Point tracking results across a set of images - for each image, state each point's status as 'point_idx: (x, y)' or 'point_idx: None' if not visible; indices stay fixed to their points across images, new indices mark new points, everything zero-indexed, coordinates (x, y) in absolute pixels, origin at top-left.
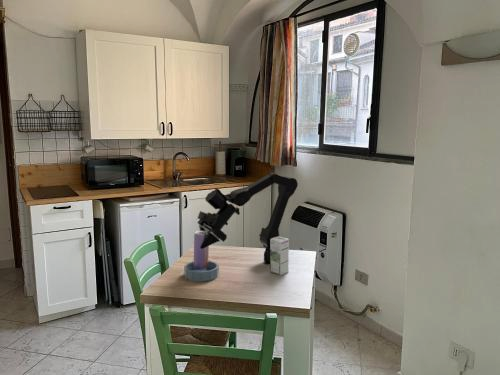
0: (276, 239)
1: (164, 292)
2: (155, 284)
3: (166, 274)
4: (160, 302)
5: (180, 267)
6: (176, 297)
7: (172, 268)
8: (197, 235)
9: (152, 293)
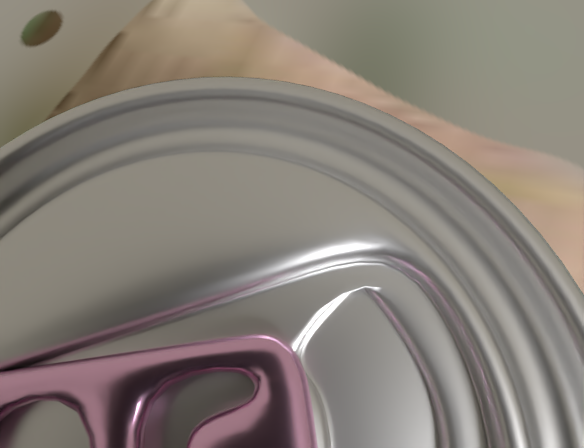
0: None
1: (143, 73)
2: (280, 41)
3: (432, 119)
4: (37, 43)
5: (566, 241)
6: (45, 120)
7: (556, 177)
8: (46, 176)
9: (162, 18)
